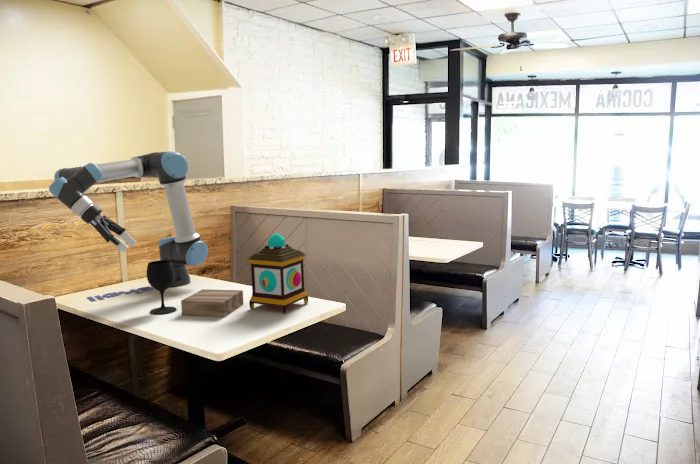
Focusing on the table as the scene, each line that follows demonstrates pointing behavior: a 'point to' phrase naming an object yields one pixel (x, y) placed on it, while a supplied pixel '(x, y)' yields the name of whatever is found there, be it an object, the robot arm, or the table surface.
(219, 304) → the walnut block
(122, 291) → the signage
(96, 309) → the table surface
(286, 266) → the decorative lantern
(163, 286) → the wine glass
